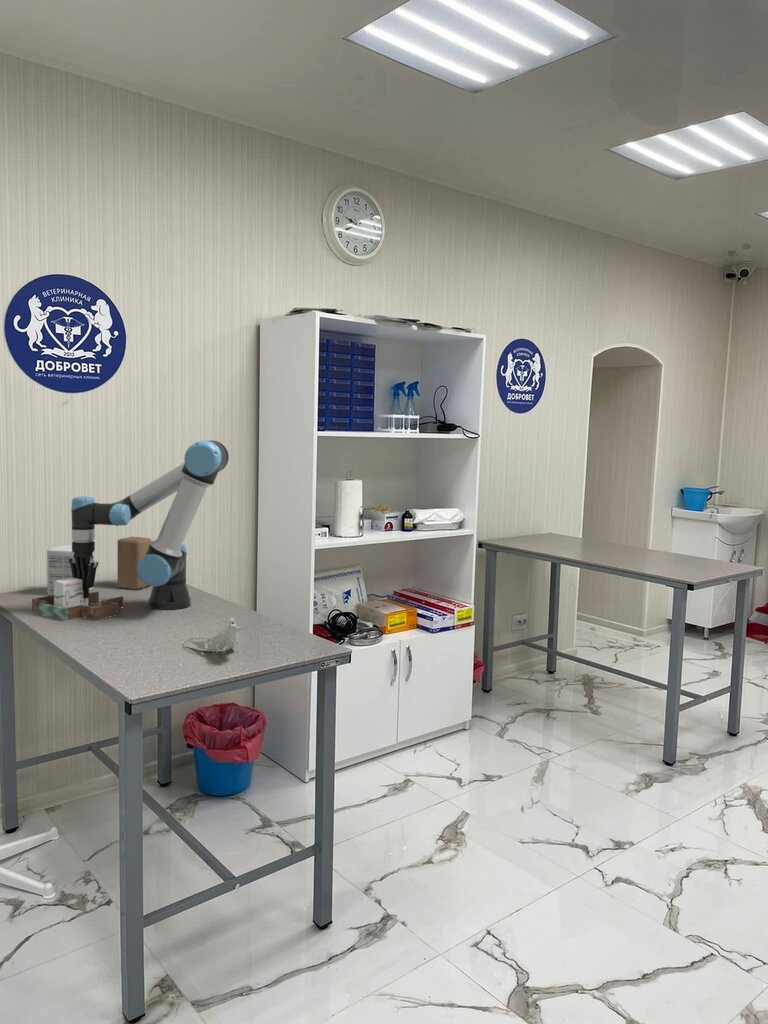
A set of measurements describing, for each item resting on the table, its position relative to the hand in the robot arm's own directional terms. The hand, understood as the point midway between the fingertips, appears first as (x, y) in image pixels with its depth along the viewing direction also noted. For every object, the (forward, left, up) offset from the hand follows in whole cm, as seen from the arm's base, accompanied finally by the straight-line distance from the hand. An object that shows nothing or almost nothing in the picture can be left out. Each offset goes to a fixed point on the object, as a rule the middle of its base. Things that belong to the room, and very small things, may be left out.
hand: (83, 606), depth 278 cm
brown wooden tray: (0, +1, -1) cm, 2 cm away
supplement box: (+28, -16, -2) cm, 32 cm away
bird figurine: (-72, +9, -2) cm, 72 cm away
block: (+17, -38, -2) cm, 42 cm away
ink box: (+1, +6, -2) cm, 6 cm away
